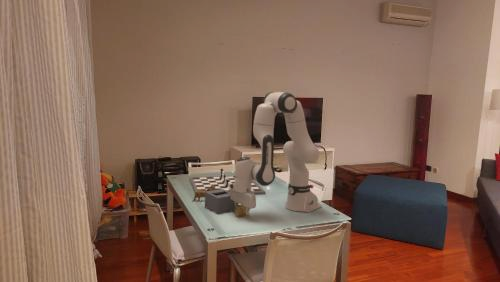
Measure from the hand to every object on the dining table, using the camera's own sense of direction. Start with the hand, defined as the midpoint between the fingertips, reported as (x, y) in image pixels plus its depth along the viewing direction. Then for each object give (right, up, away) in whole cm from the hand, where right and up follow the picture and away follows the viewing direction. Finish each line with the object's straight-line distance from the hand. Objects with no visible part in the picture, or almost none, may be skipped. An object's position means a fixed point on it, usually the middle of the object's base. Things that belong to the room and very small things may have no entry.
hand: (242, 211), depth 197 cm
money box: (-13, 0, +11) cm, 17 cm away
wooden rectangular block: (0, -2, 0) cm, 2 cm away
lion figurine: (-23, +2, +24) cm, 34 cm away
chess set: (-13, +6, +57) cm, 59 cm away
